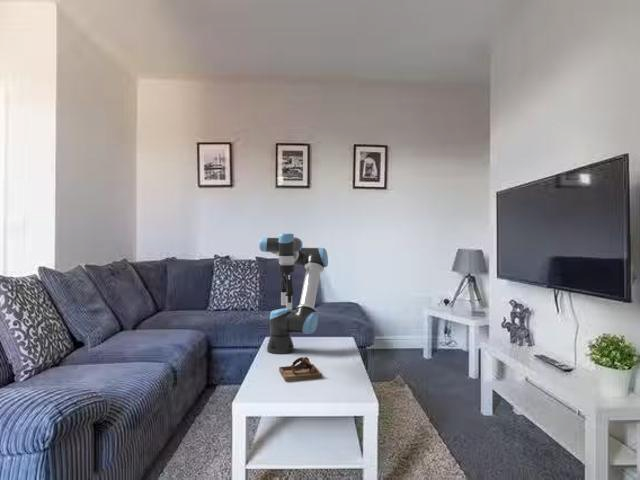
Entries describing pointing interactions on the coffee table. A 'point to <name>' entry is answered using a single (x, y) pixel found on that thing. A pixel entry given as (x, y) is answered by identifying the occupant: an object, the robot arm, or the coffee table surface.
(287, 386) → the coffee table surface
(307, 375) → the walnut tray
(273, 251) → the robot arm
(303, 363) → the pottery mug
